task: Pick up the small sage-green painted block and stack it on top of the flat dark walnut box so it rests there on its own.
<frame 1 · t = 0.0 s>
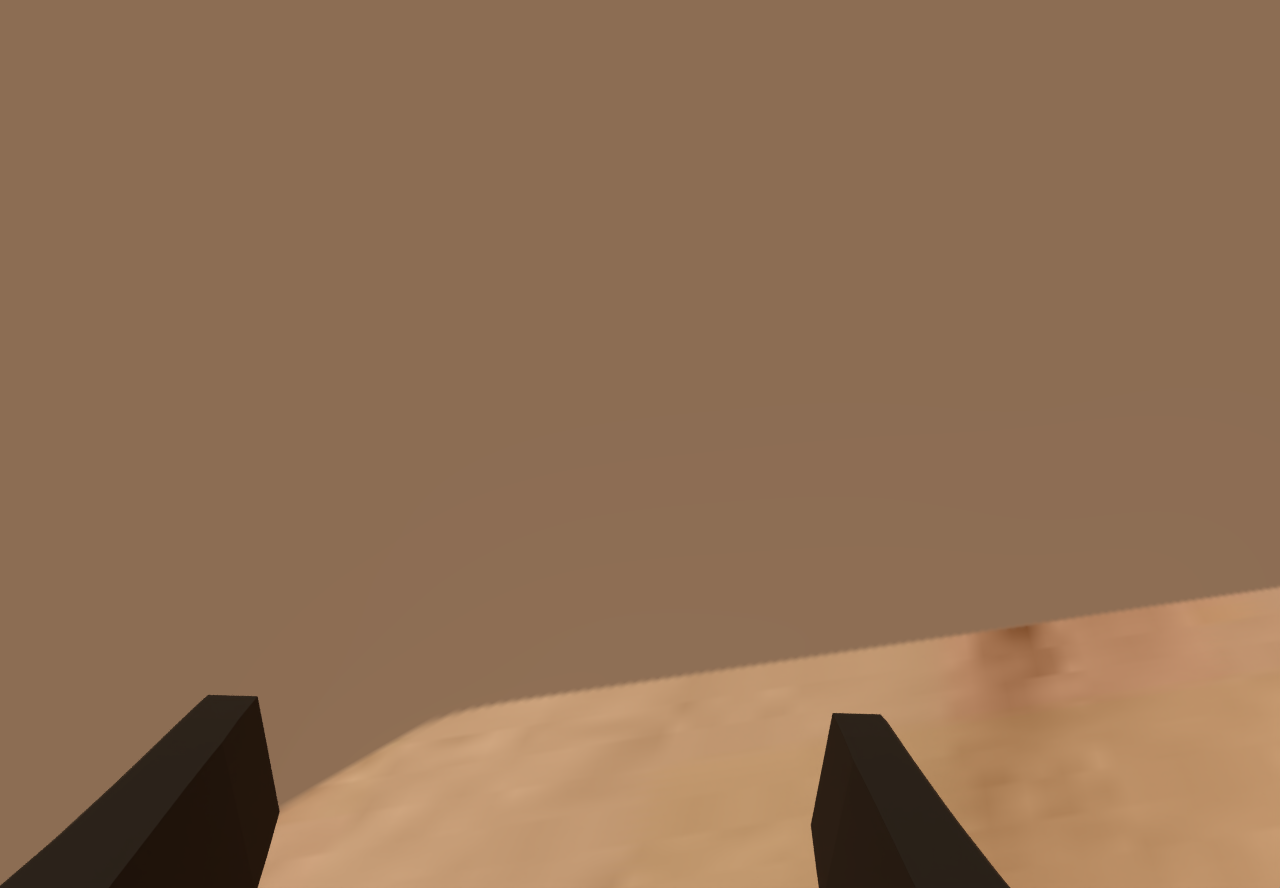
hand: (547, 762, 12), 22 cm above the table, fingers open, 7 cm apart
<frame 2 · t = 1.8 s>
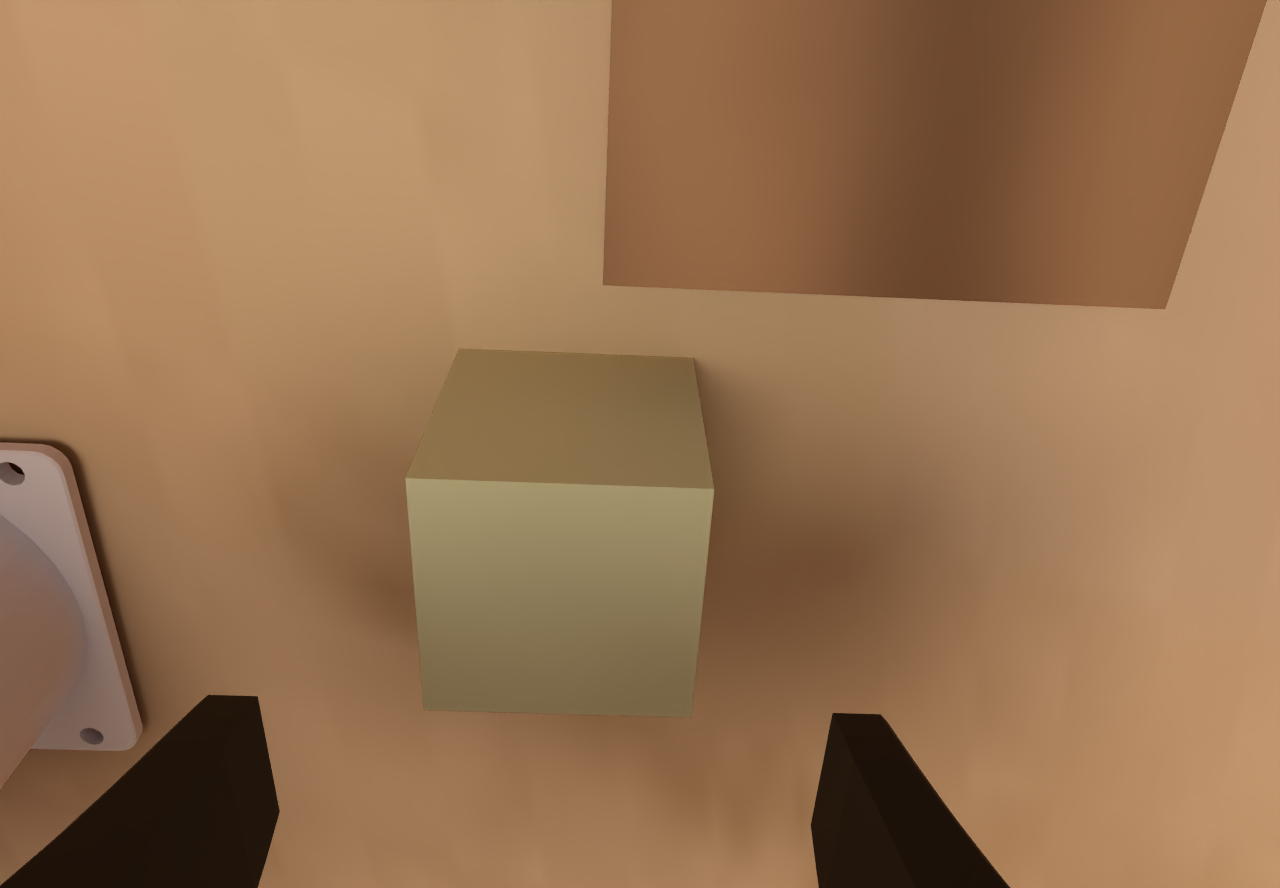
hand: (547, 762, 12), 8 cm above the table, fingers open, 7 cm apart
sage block: (574, 454, 19), on the table
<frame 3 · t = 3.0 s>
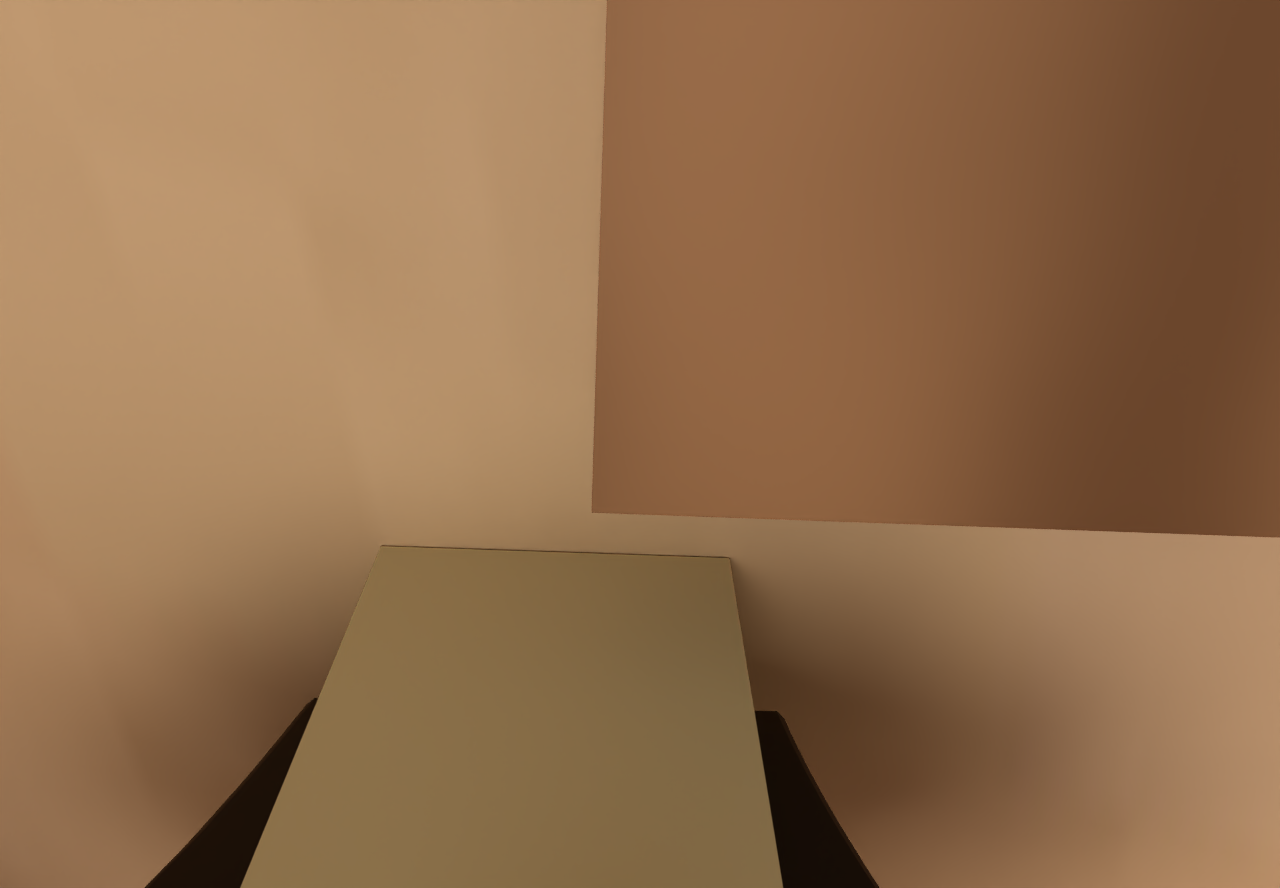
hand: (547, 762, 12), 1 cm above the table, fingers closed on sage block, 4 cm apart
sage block: (555, 684, 13), on the table, touching gripper
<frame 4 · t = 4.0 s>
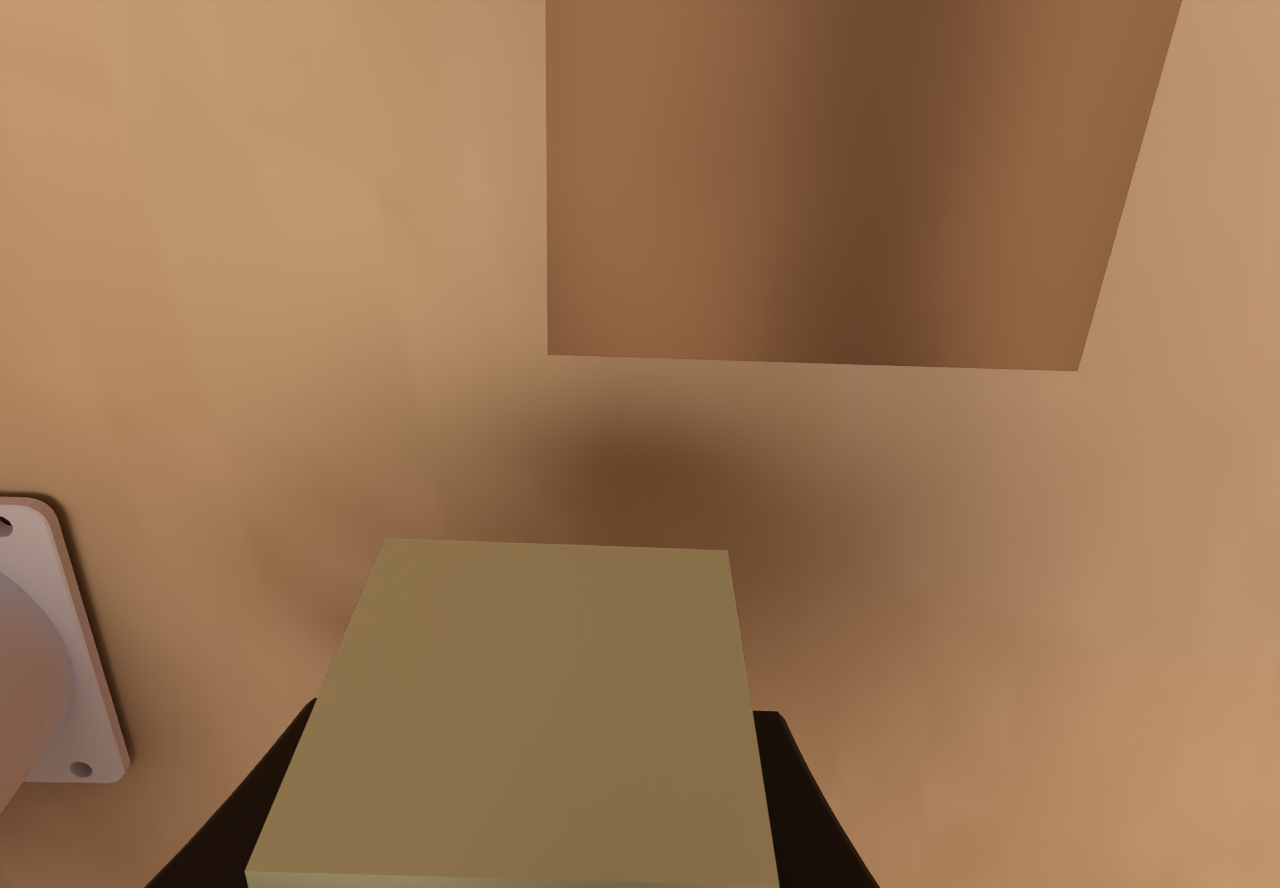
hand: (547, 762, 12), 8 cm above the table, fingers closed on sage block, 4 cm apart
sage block: (556, 675, 13), point 7 cm above the table, touching gripper
walnut box: (817, 57, 16), on the table
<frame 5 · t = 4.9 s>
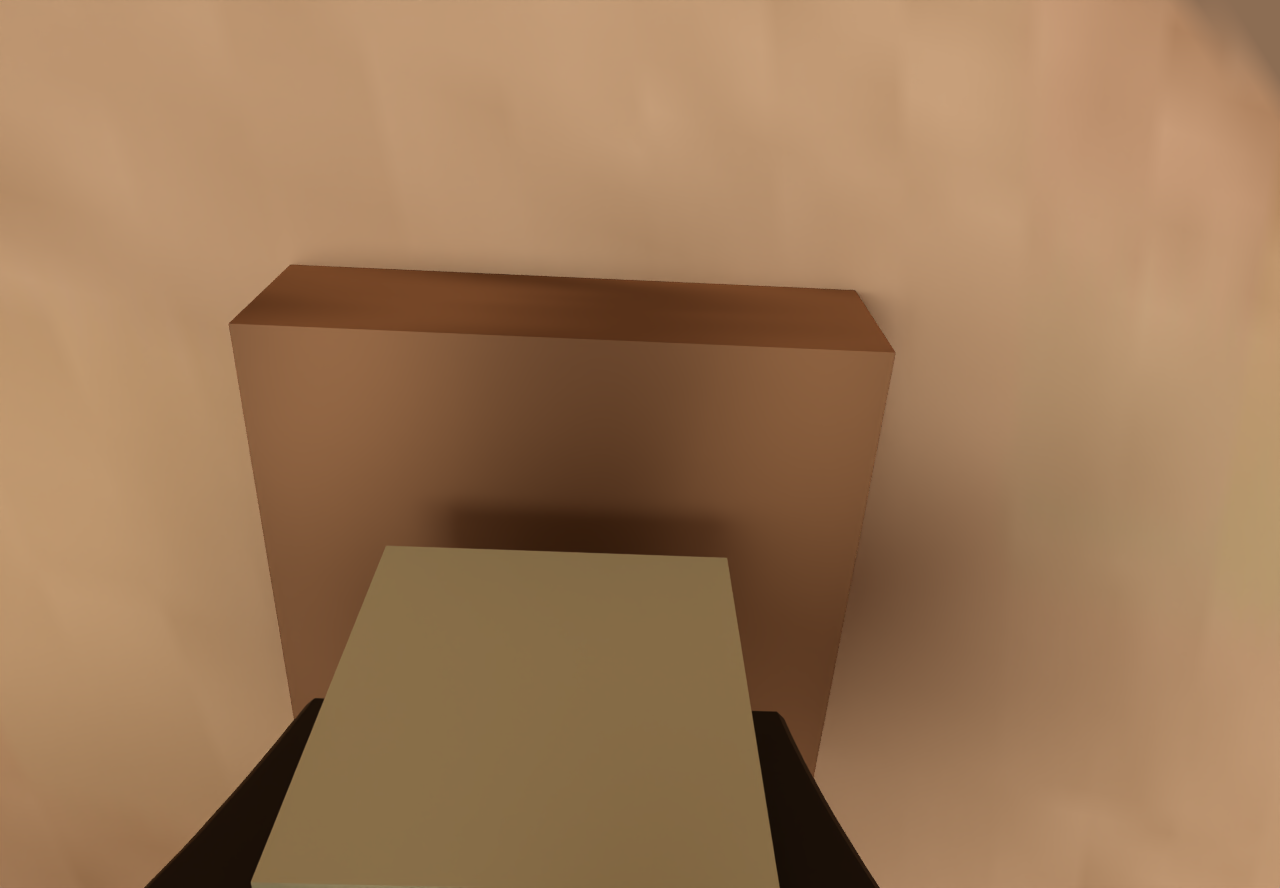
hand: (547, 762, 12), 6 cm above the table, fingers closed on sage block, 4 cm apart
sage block: (556, 681, 13), point 4 cm above the table, touching gripper
walnut box: (572, 504, 17), on the table
when the fingers open (5 cm above the table, at t = 5.4 s): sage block drops 1 cm, point 2 cm above the table.
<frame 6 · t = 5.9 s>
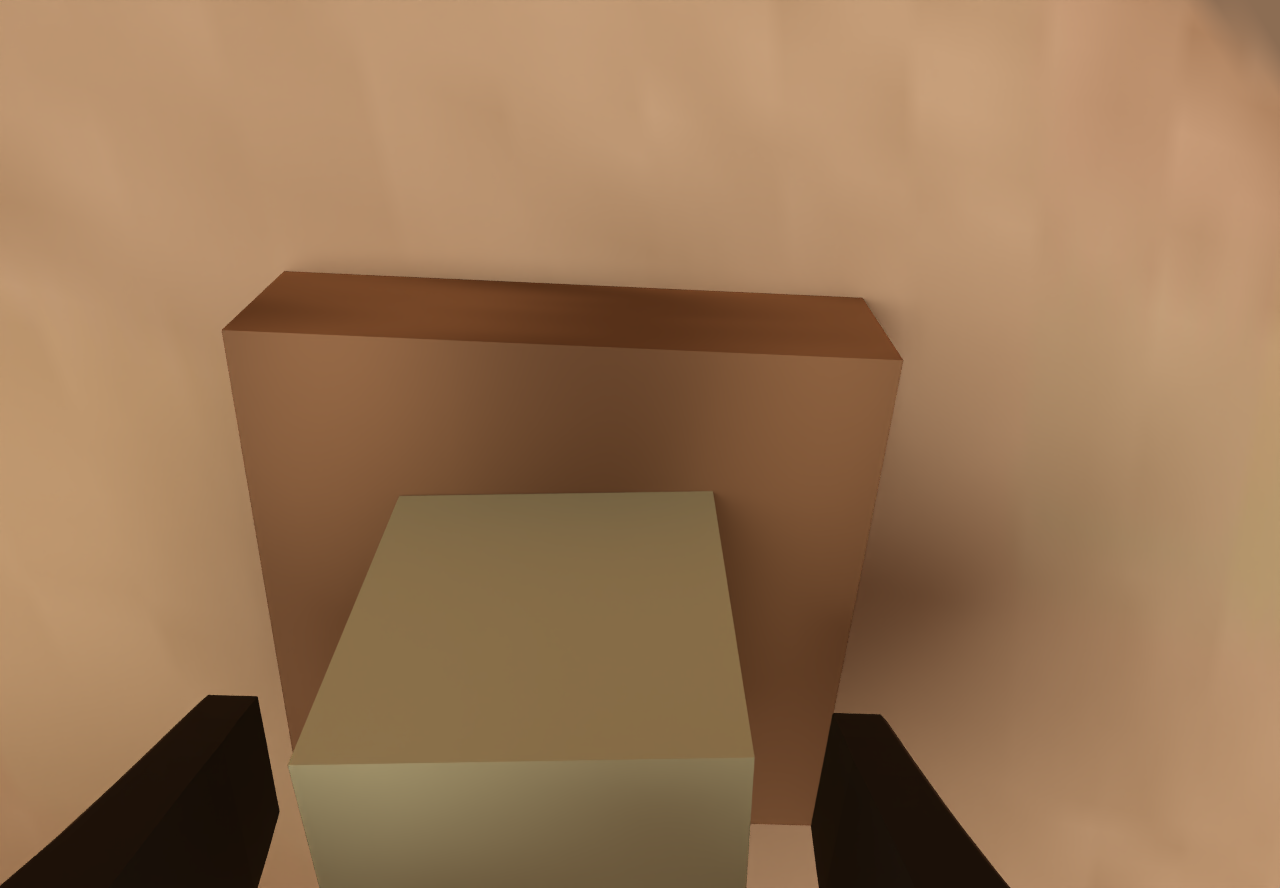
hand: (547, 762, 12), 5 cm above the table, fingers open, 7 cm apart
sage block: (563, 618, 15), point 2 cm above the table
walnut box: (572, 512, 17), on the table
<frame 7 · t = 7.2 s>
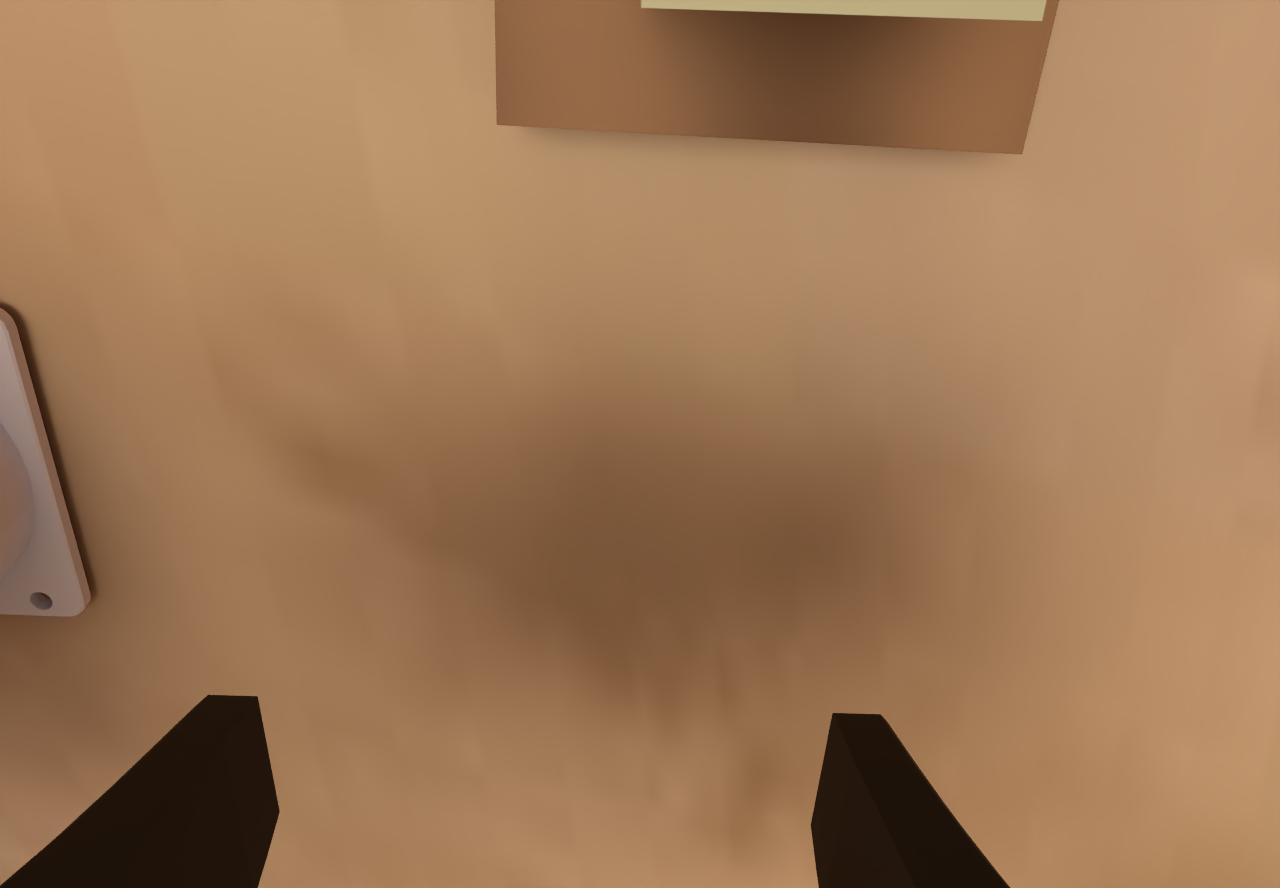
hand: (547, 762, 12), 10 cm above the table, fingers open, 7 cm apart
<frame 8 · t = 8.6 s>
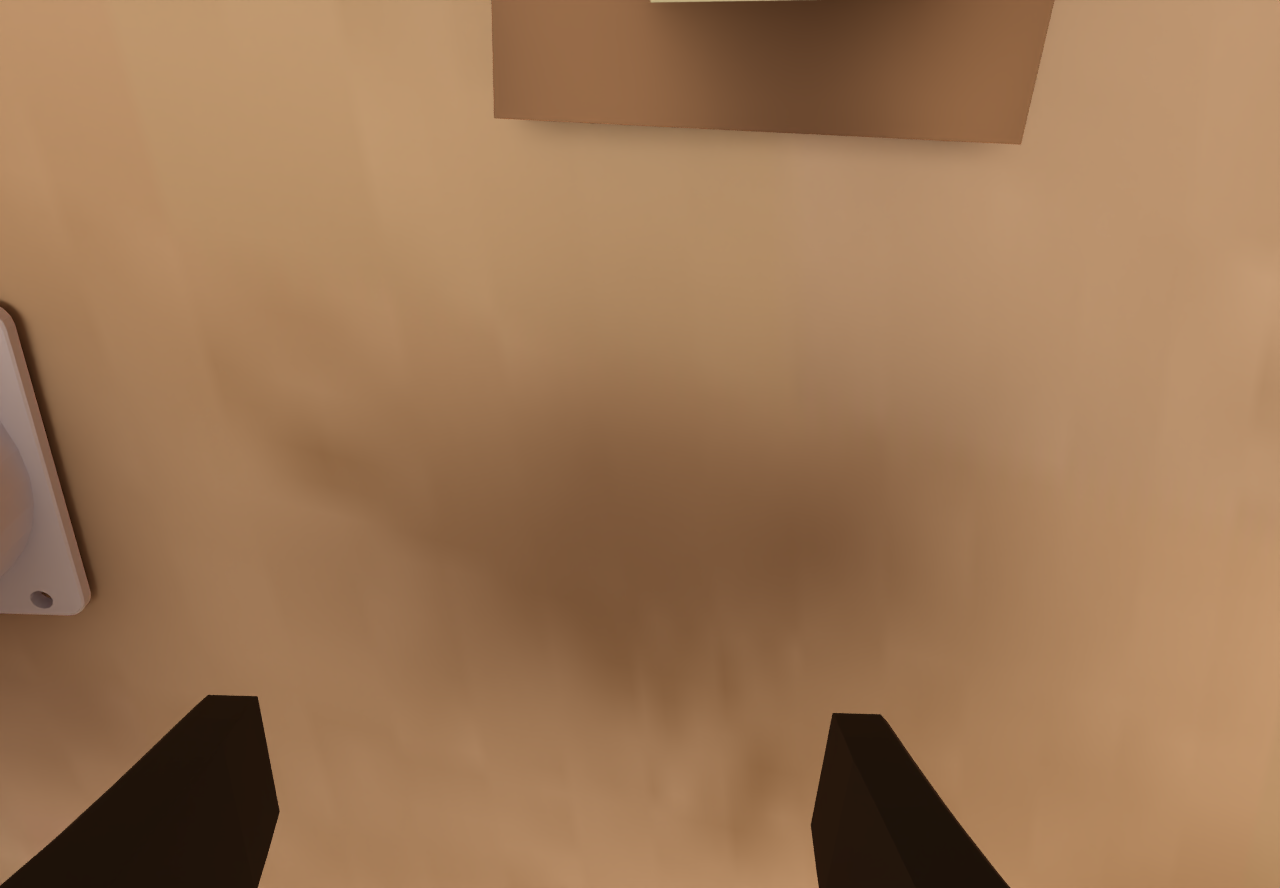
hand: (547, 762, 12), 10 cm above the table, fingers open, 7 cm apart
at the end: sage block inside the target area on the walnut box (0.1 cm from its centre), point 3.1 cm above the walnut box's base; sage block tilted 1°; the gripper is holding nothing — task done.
